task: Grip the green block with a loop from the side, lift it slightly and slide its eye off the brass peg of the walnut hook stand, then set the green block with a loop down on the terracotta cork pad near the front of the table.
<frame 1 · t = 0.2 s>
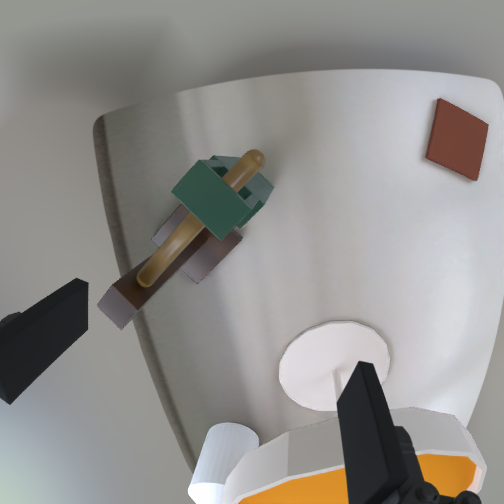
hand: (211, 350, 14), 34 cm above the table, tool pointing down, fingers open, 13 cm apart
hook stand: (196, 237, 48), on the table
bottle: (233, 438, 60), on the table
cork pad: (457, 140, 39), on the table
desk lamp: (335, 368, 52), on the table
green block with loop: (251, 180, 45), resting on hook stand
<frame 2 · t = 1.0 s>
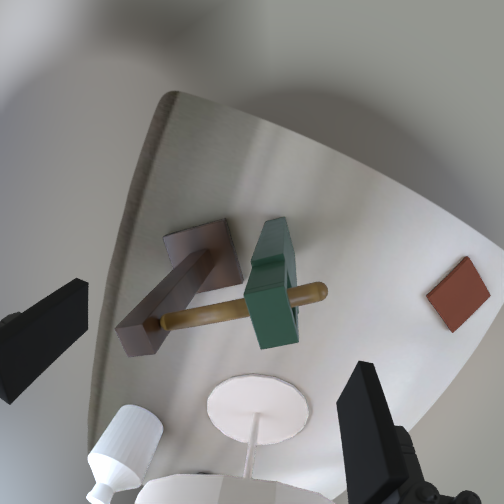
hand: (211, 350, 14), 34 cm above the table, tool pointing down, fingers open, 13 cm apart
hook stand: (204, 257, 49), on the table
bottle: (140, 421, 62), on the table
cork pad: (459, 294, 46), on the table
desk lamp: (257, 411, 57), on the table
green block with loop: (280, 238, 47), resting on hook stand
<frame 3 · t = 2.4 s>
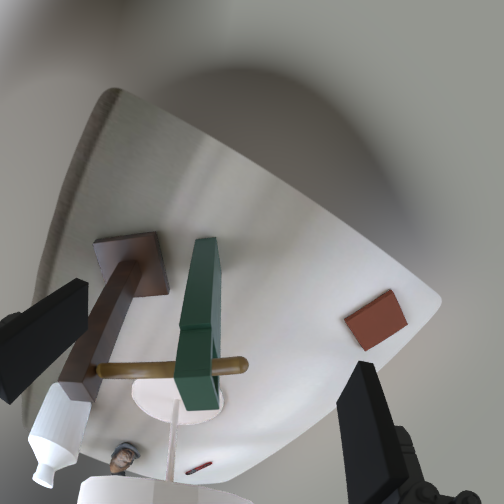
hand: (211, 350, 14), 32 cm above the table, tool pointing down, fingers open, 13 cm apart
hook stand: (132, 265, 46), on the table
bison figurine: (126, 448, 72), on the table
bottle: (70, 397, 61), on the table
cork pad: (376, 320, 55), on the table
desk lamp: (177, 397, 61), on the table
pen: (198, 467, 78), on the table
green block with loop: (208, 256, 47), resting on hook stand
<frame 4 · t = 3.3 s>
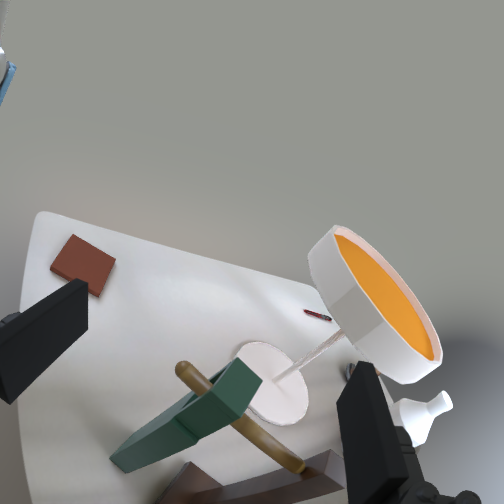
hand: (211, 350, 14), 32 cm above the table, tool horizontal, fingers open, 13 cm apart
bison figurine: (352, 377, 83), on the table
bottle: (355, 450, 61), on the table
cork pad: (83, 265, 51), on the table
desk lamp: (271, 383, 62), on the table
pen: (317, 316, 96), on the table
green block with loop: (130, 452, 34), resting on hook stand
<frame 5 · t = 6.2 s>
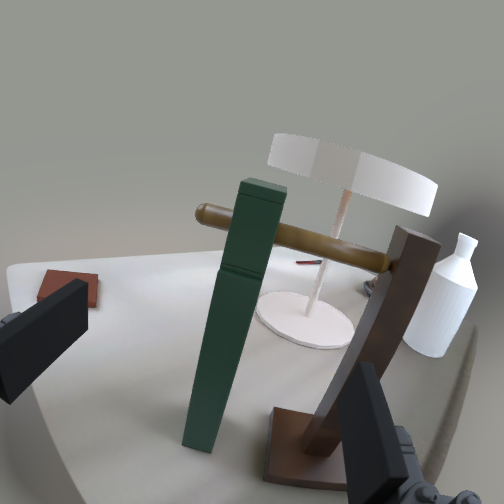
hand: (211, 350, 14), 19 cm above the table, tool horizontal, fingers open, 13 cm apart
hook stand: (311, 452, 29), on the table
bison figurine: (375, 295, 84), on the table
bottle: (423, 344, 60), on the table
cork pad: (69, 289, 47), on the table
desk lamp: (305, 320, 60), on the table
pen: (310, 263, 96), on the table
green block with loop: (202, 429, 29), resting on hook stand
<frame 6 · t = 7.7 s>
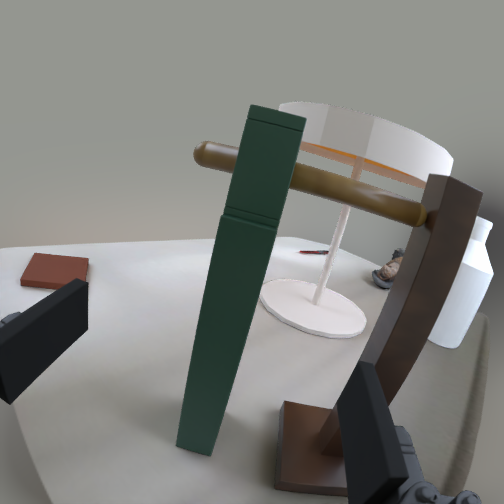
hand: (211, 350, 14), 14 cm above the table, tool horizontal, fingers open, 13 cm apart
hook stand: (328, 453, 24), on the table
bison figurine: (384, 285, 79), on the table
bottle: (437, 334, 56), on the table
cork pad: (56, 273, 42), on the table
desk lamp: (313, 308, 55), on the table
pen: (315, 253, 91), on the table
green block with loop: (201, 427, 25), resting on hook stand
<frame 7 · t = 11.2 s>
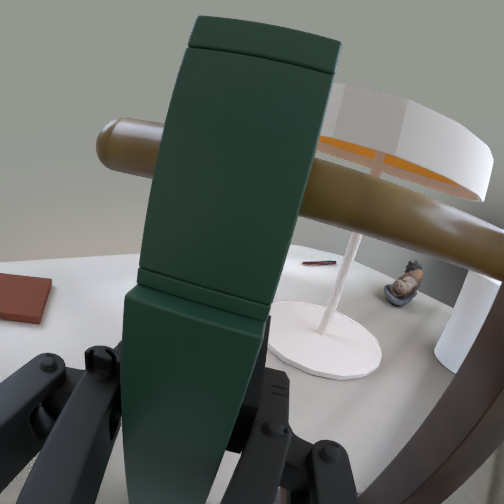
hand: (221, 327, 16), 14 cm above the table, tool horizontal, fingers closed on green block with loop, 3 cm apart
bison figurine: (396, 301, 69), on the table
bottle: (458, 362, 46), on the table
cork pad: (13, 298, 32), on the table
desk lamp: (319, 338, 45), on the table
pen: (319, 264, 81), on the table
when the fingers open (15 cm above the table, at t = 23.5 s): green block with loop stays where it is, resting on cork pad.
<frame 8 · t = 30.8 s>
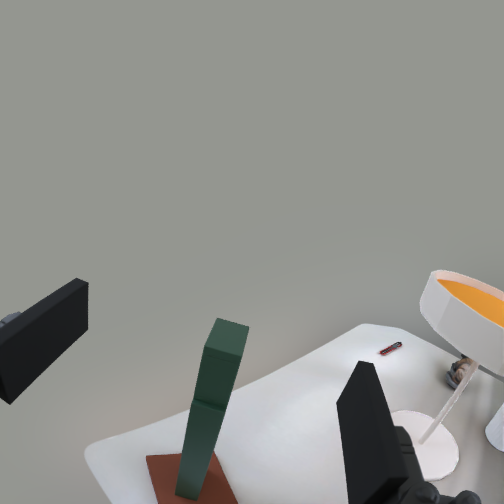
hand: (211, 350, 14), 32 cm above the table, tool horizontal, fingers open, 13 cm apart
bison figurine: (453, 381, 70), on the table
bottle: (500, 438, 47), on the table
cork pad: (189, 484, 33), on the table
desk lamp: (418, 445, 47), on the table
pen: (390, 349, 83), on the table
green block with loop: (190, 481, 33), point 1 cm above the table, touching cork pad
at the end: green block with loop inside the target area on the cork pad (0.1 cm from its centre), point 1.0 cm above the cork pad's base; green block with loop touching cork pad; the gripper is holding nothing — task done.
